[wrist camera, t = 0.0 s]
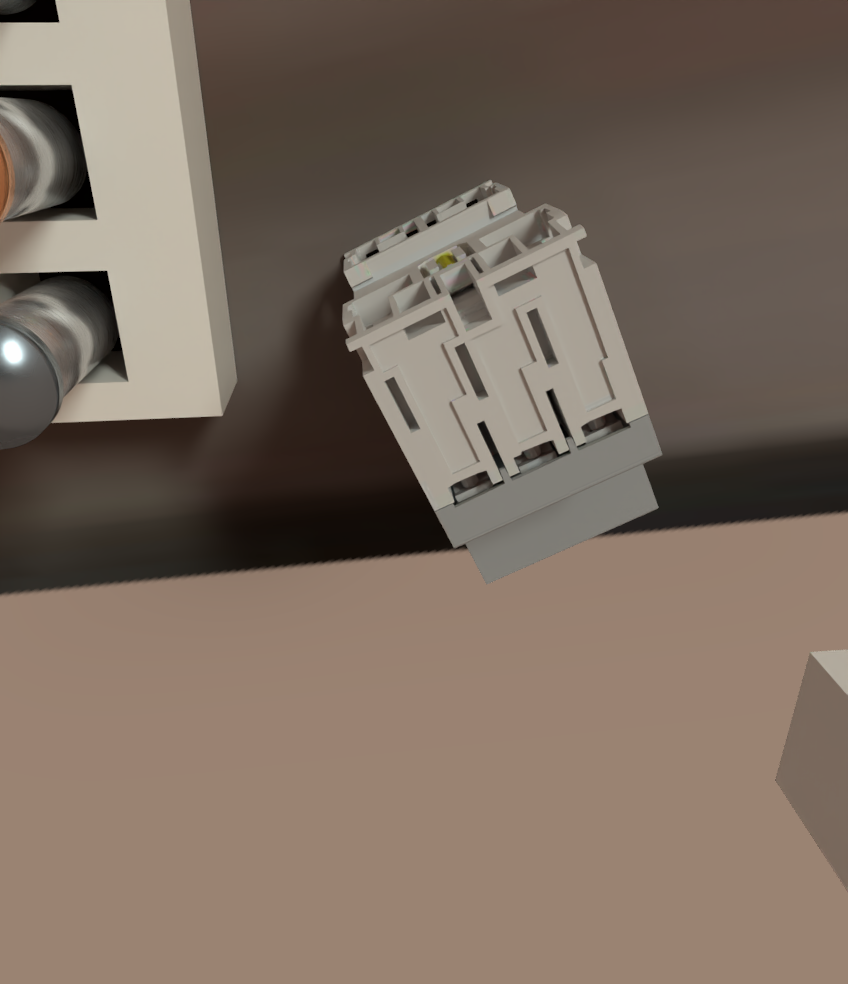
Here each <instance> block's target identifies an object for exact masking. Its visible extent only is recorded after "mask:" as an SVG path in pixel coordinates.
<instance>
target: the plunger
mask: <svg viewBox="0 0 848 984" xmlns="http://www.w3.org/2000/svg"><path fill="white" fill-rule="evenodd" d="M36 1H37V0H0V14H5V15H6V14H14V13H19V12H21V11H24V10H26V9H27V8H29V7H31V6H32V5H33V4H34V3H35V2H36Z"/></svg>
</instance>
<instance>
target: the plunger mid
mask: <svg viewBox="0 0 848 984" xmlns="http://www.w3.org/2000/svg"><path fill="white" fill-rule="evenodd" d="M86 174H87V163H86V157H85V152H84V147H83V142H82V139H81V137H80V135H79V133H78V131H77V130H76V128H75V127H74V125H73V124H72V123H71V122H70V120H69V119H67V118H66V117H65V116H64V115H63V114H62V113H61V112H59V111H58V110H57V109H55V108H53V107H52V106H50V105H48V104H46V103H43V102H40V101H37V100H32V99H18V98H3V97H0V224H1V223H2V222H3V221H4V220H8V219H11V218H15V217H18V216H21V215H25V214H28V213H32V212H35V211H39V210H42V209H45V208H49V207H52V206H56V205H59V204H62V203H64V202H66V201H68V200H70V199H71V198H72V197H74V196H75V195H76V194H77V192H78V191H79V190H80V188H81V187H82V185H83V183H84V181H85V177H86Z"/></svg>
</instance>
